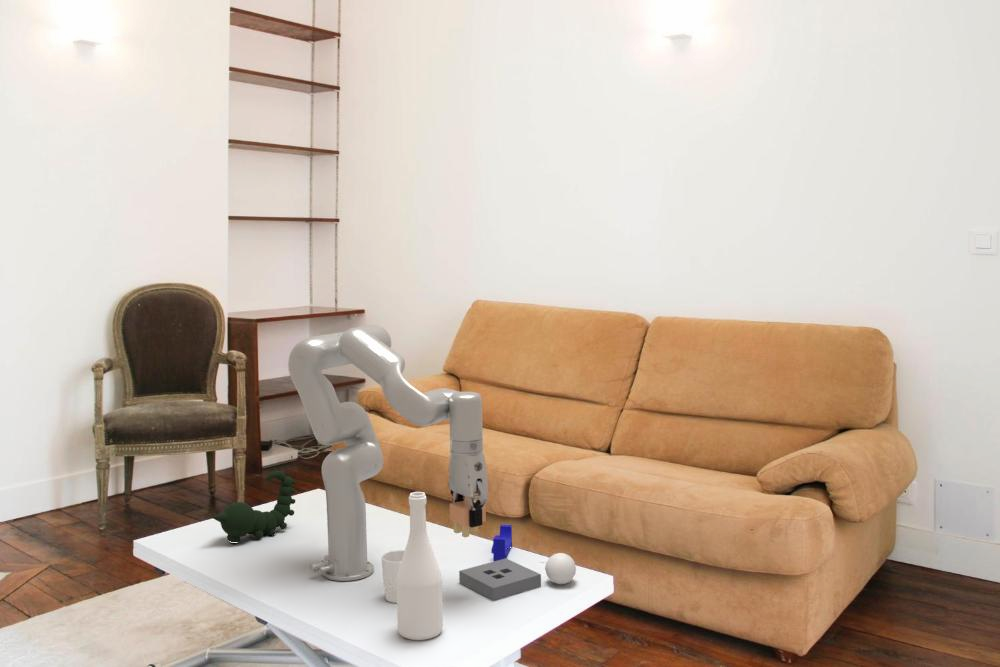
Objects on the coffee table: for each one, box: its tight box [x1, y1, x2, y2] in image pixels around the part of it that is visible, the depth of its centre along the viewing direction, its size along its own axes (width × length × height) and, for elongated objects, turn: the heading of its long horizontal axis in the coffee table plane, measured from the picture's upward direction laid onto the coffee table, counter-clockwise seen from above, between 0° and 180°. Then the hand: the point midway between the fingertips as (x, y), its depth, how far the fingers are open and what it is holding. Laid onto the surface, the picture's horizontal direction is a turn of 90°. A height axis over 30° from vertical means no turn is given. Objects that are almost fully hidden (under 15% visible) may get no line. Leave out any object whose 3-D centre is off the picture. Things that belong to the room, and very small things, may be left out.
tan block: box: [449, 499, 487, 538], centre depth 212 cm, size 6×6×7 cm
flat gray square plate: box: [458, 558, 542, 601], centre depth 220 cm, size 14×14×3 cm
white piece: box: [541, 552, 577, 585], centre depth 221 cm, size 10×7×7 cm
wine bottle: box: [396, 491, 444, 641], centre depth 193 cm, size 10×10×30 cm
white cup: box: [381, 549, 405, 604], centre depth 212 cm, size 8×8×10 cm
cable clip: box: [491, 524, 513, 562], centre depth 242 cm, size 12×4×6 cm, turn 170°
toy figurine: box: [211, 470, 296, 542], centre depth 256 cm, size 9×19×25 cm
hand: (467, 521), depth 212 cm, fingers closed on tan block, 6 cm apart
